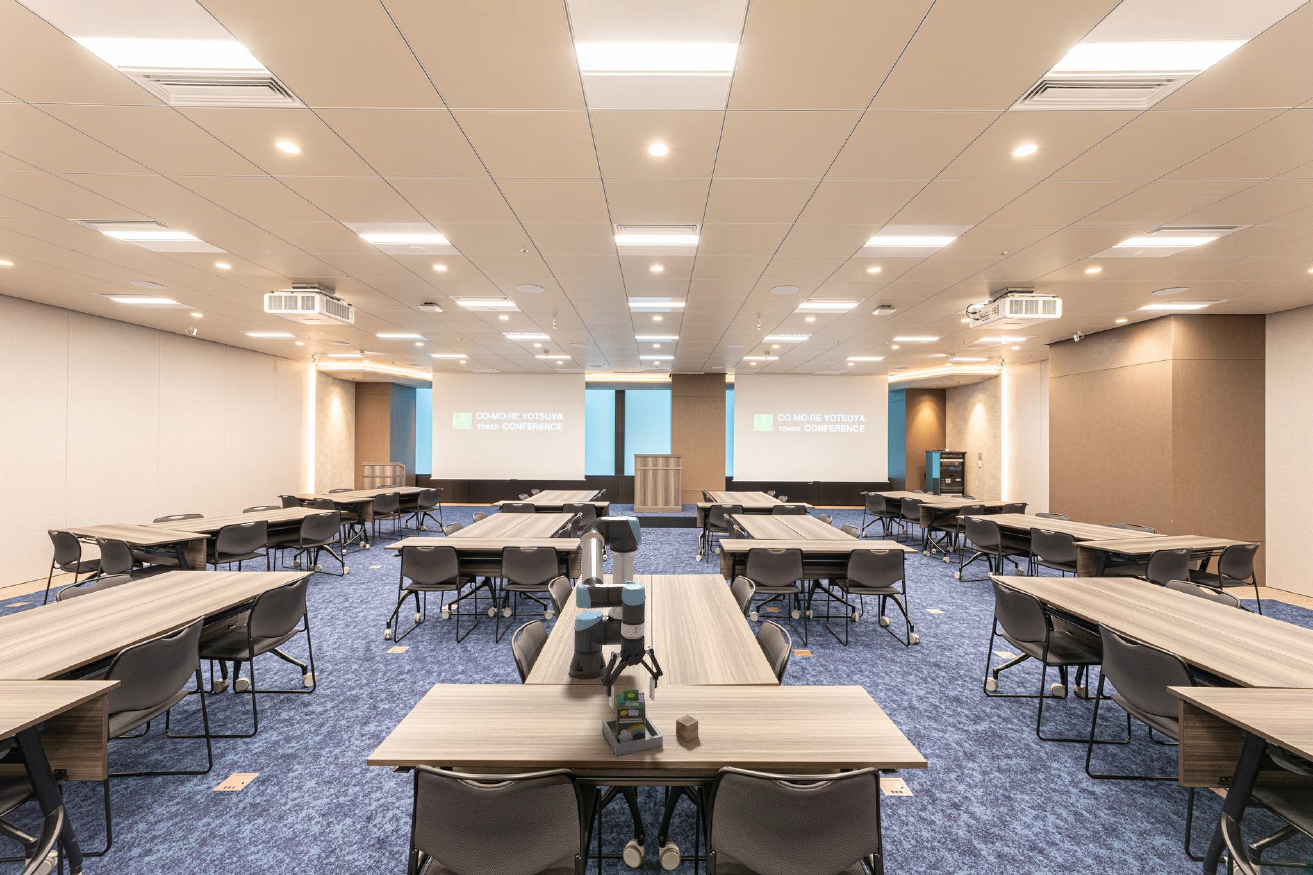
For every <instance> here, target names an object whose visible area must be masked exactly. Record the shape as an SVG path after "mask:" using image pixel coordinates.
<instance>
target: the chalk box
mask: <svg viewBox="0 0 1313 875" xmlns="http://www.w3.org/2000/svg"><path fill="white" fill-rule="evenodd" d="M645 700H646V699H645V692H640V691H639V690H638V689H627V690H626V689H625V690H623V693H617V694H616V718H617V742H618V744H619V743H624V742H629V741H633V740H638V739H643V738H645V723H646V721H645V713H646V714H647V712H646V701H645Z"/></svg>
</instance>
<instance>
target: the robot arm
mask: <svg viewBox="0 0 1313 875" xmlns="http://www.w3.org/2000/svg"><path fill="white" fill-rule="evenodd" d="M642 540H643V539H642V532H641V524H640V520H639V519H638V517H635V516H628V515H627V516H600V517H599V516H598V517H596V518H594V519H592V520H591V521H589V523H587V524H586V525H585V527H584V528H583V529H582V531H581V534H580V537H579V545H580V548H581V549H582V553H581V554H582V556H581V557H582V559H581V560H582V561H581V564H582V566H581V584H578V585H577V586H576V587H575V606H576V608H578V609H588V610H589V609H600V608H601V609H604V608H609V609H608V611H607V613H608V614H607V615H604V613H603V612H602V611H599V610H598V611H597V610H591V611H586V612H583V613H580V614H578V616H576V617H575V619H574V627H573V630H574V635H573V636H574V637H573V638H574V639H573V641H574V642H573V650H574V651H573V655H572V658H571V660H570V663H569V672H568V673H569V674H570V676H572V677H574V678H577V679H582V680H583V679H584V680H586V679H587V680H589V679H596V678H598V677H601V679H600V683H601V685H602V686H603V687H605V686H606V688H605V691H606V692H605V693H606V696H607V697H608V705H609V707H610V709H614V708H615V704H614V703H615V701H614V700H615V686H614V683H615V682H616V681H617V679H618V678H619V676H620V675H621V673H622V672H623V671H624V670H625V669H627V667H632V666H638V665H639V664H641V665H642V667H644V668H645V669H646V670H647V672H648V673H649V674H650V675H651V676H649V682H648V683H649V690H648V691H649V692H648V693H649V695H648V696H649V698H650V700H651V701H653V702H654V701H655V699H656V698H655V695H656V694H655V693H656V692H655V690H656V689H657V688H658V680H659V677H662V676H664V672H663V671H662V668H661V666H660V665H659V664H660V663H659V662H658V660H657V658H656V655H655V650H654V648H653V647H652V646H650V645H649V646H648V647H647V648H645V645H646V643H645V640H646V639H645V638H646V636H645V634H646V631H645V630H646V622H645V621H646V619H645V618H646V598H647V596H646V588H645V587H644V585H642V584H638V583H636V582H635V581H634V566H635V564H634V563H635V562H634V560H635V559H634V558H635V553H636V552H637V551H638V549H639V547H640V546H641V545H643V544H642ZM606 546H608V547H609V552H611V553H612V556H613V557H612V583H609V584H607V583H604V563H603V548H604V547H606ZM603 646H620V651H619V652H615V651H611V653H610V659H609V661H608V664H607V663H606V662H607V661H606V659H605V656H604V653H603ZM646 654H647V656H648V657H649V658H650V660H651V662H652V665H653V666H654V669H655V670H656V671H654V670H653V669H652V667H650V665H649V664H648V663H647V662H646V661H645V660H644V657H645V656H646ZM619 658H620V660H619ZM617 661H618V664H617V666H616V663H617ZM615 666H616V667H615Z"/></svg>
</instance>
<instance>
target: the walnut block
mask: <svg viewBox="0 0 1313 875" xmlns="http://www.w3.org/2000/svg"><path fill="white" fill-rule="evenodd" d="M675 736H676V737H678V738H680V739H681V740H682V741H684V742H686V743H689V742H690V741H692V740H694V739H696V738H698V737H699V720H698V719H696V718H694V717H693V716H691V715H689V714H685V715H683V716H681V717H678V718H677V719H676V720H675Z"/></svg>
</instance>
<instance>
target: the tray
mask: <svg viewBox="0 0 1313 875" xmlns="http://www.w3.org/2000/svg"><path fill="white" fill-rule="evenodd" d="M645 721H646V723H645V738H643V739H638V740H633V741H629V742H624V743H619V744H618V742H617V717H616V718H612V719H605V720H602V722H601V723H602V724H601V725H602V726H601V728H602V730H601V731H602V732H603V735H604V737H605V739H606V740H607V742H608V745H609V746H610V748H611V750H612V752H613V754H614V755H615V757H620V756H625V755H629V754H633V752H634V753H639V752H644V751H646V750H652V749H655V748H660V747H663V746H664V743H663V742H664V741H663V740H664V737H663V735H662V733H661V732H660V730H659V729H658V728H657V726H656V725H655V723H654V722H653V721H652V719H651V718H650V717H649V715H648V713H647V712H646V713H645ZM638 751H639V752H638Z"/></svg>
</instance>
